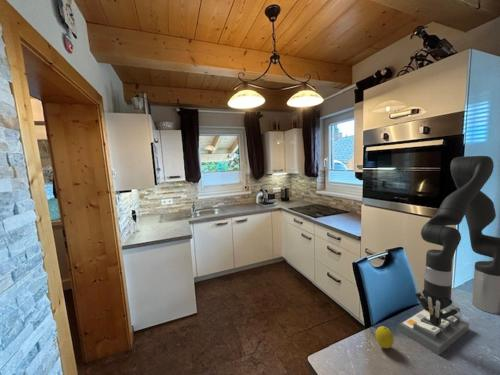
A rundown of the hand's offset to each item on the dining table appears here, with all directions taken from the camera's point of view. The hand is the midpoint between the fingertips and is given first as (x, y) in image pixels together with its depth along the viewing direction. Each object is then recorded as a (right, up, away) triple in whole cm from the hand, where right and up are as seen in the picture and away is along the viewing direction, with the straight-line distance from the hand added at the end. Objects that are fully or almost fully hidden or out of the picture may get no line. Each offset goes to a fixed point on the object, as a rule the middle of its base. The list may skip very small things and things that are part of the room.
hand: (435, 324), depth 80 cm
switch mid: (+6, -2, +5) cm, 8 cm away
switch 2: (+12, -2, +9) cm, 15 cm away
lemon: (-19, -8, -1) cm, 21 cm away
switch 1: (-1, -3, +2) cm, 4 cm away
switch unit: (+5, -7, +7) cm, 11 cm away
